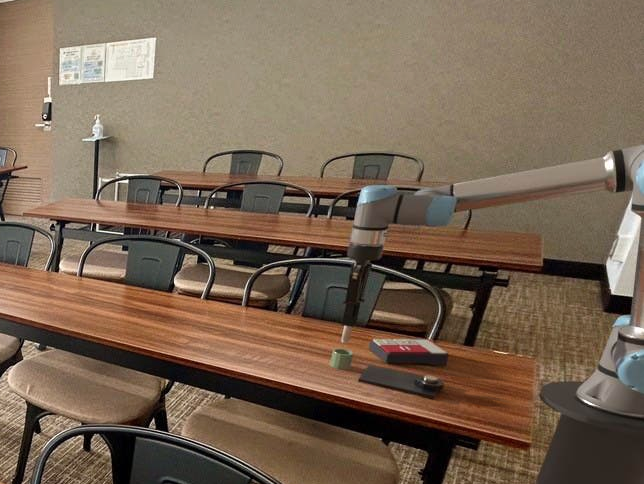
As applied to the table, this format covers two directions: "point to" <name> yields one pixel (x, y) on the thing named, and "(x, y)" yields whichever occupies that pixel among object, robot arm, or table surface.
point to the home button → (430, 379)
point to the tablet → (400, 381)
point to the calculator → (408, 351)
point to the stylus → (346, 334)
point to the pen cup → (341, 359)
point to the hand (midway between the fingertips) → (348, 324)
